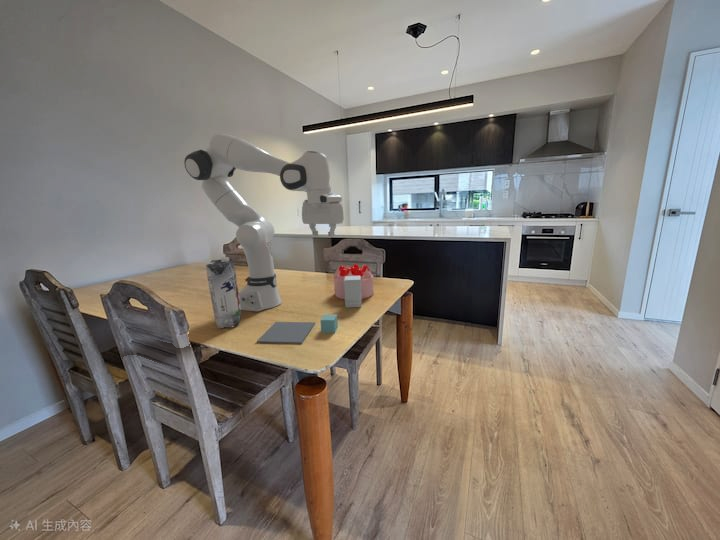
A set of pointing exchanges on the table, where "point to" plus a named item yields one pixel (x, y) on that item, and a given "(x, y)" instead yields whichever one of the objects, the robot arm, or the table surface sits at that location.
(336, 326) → the teal cube
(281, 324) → the charcoal mat
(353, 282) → the supplement box
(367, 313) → the table surface
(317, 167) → the robot arm
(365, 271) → the cake
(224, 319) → the juice carton
